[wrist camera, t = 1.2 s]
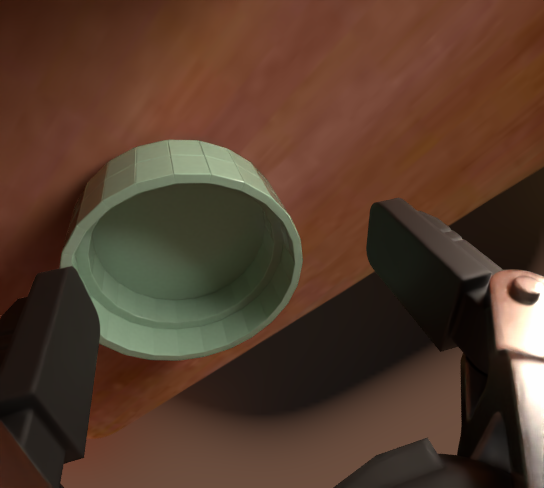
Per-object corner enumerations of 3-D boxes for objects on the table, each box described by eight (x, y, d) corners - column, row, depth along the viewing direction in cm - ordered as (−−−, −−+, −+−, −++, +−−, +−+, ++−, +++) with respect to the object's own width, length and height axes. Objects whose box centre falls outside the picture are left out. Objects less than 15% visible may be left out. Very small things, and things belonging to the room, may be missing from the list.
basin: (39, 272, 27) (18, 333, 22) (134, 89, 22) (133, 119, 17) (214, 323, 35) (226, 375, 31) (312, 198, 30) (344, 238, 26)
